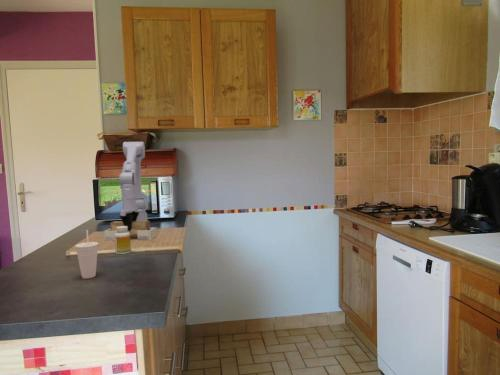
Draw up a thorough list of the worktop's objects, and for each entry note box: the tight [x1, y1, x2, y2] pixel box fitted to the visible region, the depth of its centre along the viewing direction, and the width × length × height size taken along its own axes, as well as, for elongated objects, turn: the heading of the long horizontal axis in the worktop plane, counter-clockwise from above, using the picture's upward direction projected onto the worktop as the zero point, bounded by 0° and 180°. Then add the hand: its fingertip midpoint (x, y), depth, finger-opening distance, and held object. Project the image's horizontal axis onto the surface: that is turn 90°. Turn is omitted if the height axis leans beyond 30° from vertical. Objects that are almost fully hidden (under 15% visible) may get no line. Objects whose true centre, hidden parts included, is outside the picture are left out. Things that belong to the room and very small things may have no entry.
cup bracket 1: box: [103, 228, 117, 241], centre depth 155 cm, size 7×6×4 cm
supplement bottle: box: [114, 226, 132, 255], centre depth 130 cm, size 5×5×10 cm
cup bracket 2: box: [136, 227, 157, 241], centre depth 154 cm, size 7×6×4 cm
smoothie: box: [74, 229, 100, 280], centre depth 102 cm, size 6×6×14 cm
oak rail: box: [109, 220, 151, 235], centre depth 154 cm, size 4×16×5 cm, turn 87°
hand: (130, 229), depth 154 cm, fingers closed on oak rail, 4 cm apart
